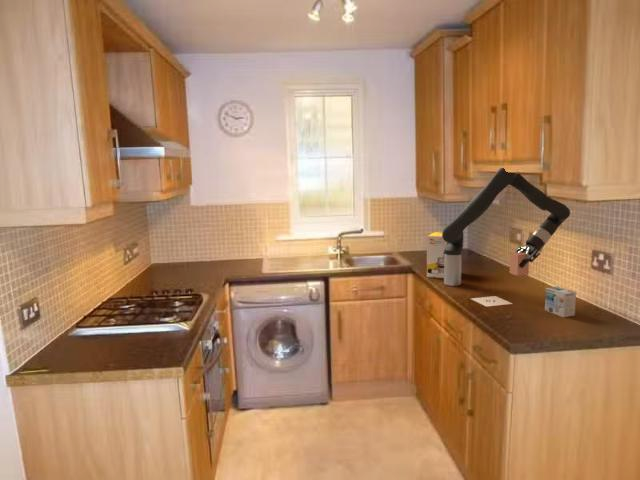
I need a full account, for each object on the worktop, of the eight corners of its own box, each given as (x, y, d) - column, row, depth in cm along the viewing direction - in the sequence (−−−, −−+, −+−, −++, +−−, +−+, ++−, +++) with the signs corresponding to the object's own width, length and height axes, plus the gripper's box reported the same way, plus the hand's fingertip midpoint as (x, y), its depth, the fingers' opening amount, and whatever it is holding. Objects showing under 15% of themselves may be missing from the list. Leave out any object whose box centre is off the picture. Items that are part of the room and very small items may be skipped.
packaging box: (459, 273, 287) (459, 233, 283) (454, 279, 273) (454, 236, 269) (433, 271, 295) (433, 232, 291) (426, 276, 280) (426, 235, 276)
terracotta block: (509, 273, 228) (510, 252, 226) (520, 271, 229) (521, 252, 228) (517, 275, 222) (517, 255, 221) (528, 274, 223) (529, 254, 222)
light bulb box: (544, 310, 210) (545, 287, 208) (555, 308, 212) (556, 285, 211) (563, 317, 200) (565, 293, 199) (575, 315, 203) (576, 291, 201)
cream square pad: (470, 299, 231) (470, 298, 231) (495, 296, 234) (495, 295, 234) (486, 307, 218) (486, 306, 217) (512, 304, 221) (512, 303, 220)
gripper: (524, 232, 231) (502, 257, 231) (544, 236, 217) (520, 263, 217) (533, 242, 233) (511, 267, 232) (553, 246, 219) (530, 273, 219)
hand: (516, 265), depth 225 cm, fingers closed on terracotta block, 6 cm apart
